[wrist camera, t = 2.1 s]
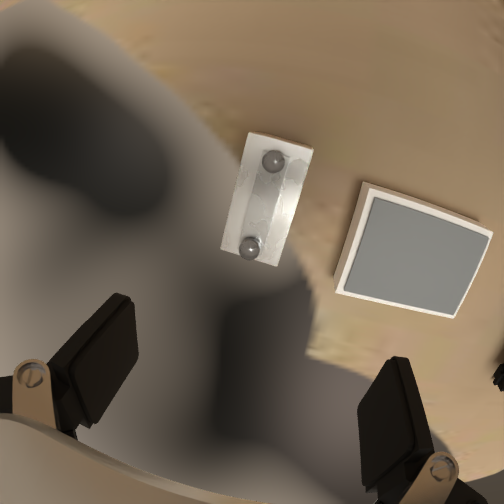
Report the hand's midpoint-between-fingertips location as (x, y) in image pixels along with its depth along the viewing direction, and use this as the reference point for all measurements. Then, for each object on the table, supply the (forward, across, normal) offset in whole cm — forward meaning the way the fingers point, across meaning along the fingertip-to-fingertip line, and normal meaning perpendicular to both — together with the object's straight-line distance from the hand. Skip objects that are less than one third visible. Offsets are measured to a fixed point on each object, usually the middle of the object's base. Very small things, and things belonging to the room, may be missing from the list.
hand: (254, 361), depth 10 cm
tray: (+19, -13, +1) cm, 23 cm away
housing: (+20, +2, -2) cm, 20 cm away
